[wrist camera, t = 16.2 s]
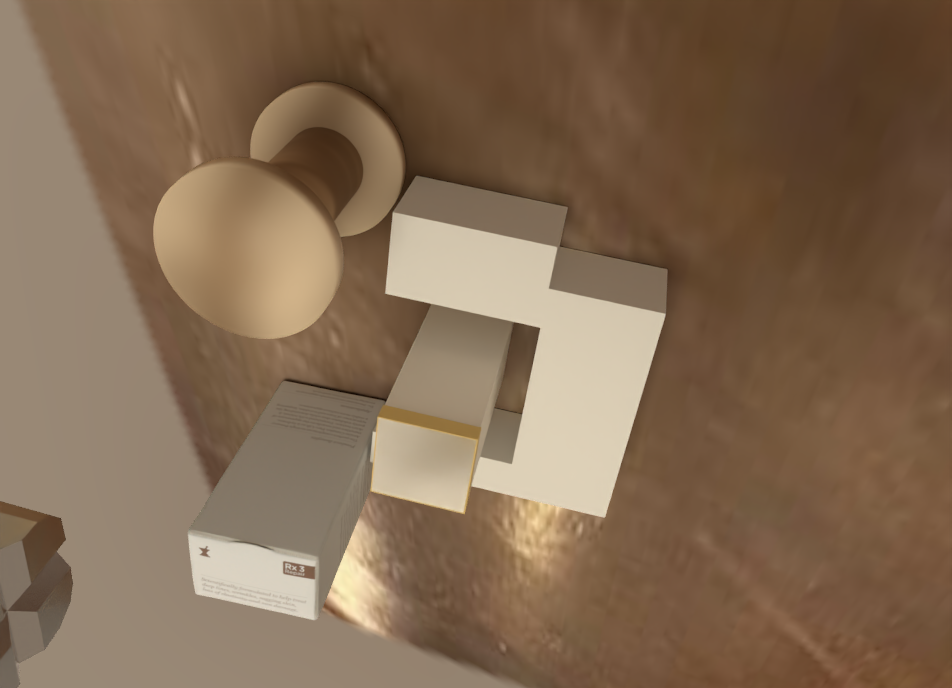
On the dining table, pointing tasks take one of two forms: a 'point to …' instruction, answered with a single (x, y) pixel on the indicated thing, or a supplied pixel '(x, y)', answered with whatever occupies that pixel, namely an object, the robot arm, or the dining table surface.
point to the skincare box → (287, 502)
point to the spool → (280, 211)
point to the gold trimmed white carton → (441, 409)
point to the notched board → (560, 339)
